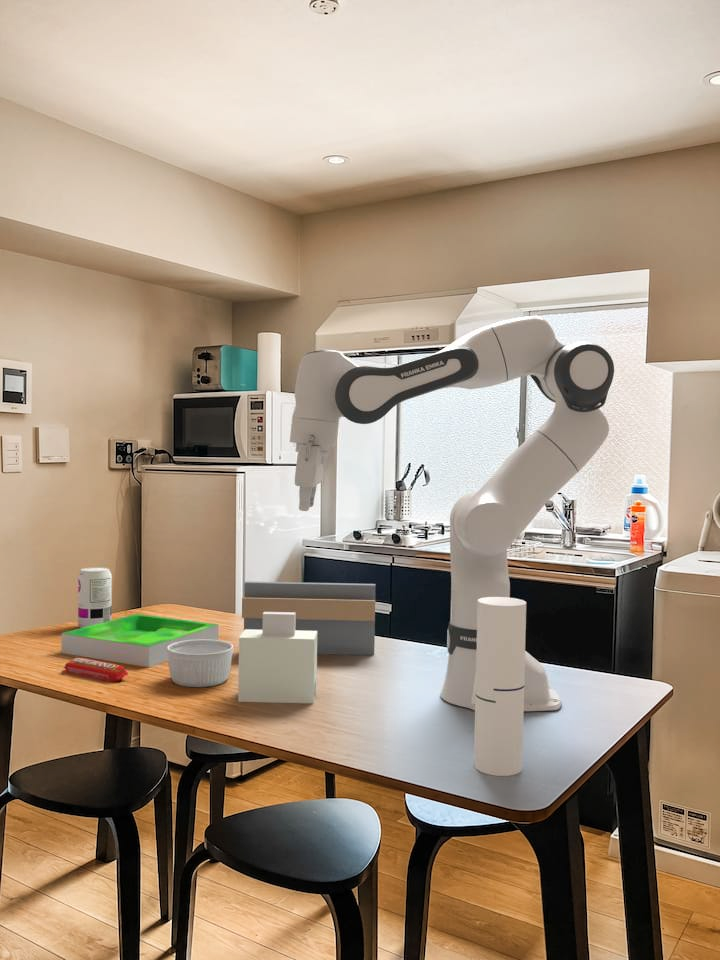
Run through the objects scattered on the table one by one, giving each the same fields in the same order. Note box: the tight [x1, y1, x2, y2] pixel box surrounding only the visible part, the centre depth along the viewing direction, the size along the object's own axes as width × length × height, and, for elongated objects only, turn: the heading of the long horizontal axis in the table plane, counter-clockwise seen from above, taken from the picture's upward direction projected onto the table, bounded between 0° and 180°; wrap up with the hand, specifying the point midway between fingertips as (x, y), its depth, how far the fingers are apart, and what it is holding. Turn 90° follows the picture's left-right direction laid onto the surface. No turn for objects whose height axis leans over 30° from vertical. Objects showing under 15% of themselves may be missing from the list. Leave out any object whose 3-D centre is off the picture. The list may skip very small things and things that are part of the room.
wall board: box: [241, 580, 376, 656], centre depth 192 cm, size 30×9×16 cm, turn 89°
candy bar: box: [63, 657, 129, 683], centre depth 170 cm, size 16×4×3 cm, turn 61°
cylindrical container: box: [473, 597, 527, 777], centre depth 124 cm, size 7×7×25 cm
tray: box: [60, 613, 219, 668], centre depth 193 cm, size 25×25×5 cm
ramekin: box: [167, 639, 234, 688], centre depth 168 cm, size 13×13×7 cm
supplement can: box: [77, 566, 113, 629], centre depth 214 cm, size 8×8×15 cm
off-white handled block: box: [237, 612, 318, 704], centre depth 157 cm, size 14×7×16 cm, turn 89°
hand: (306, 508), depth 157 cm, fingers open, 8 cm apart
